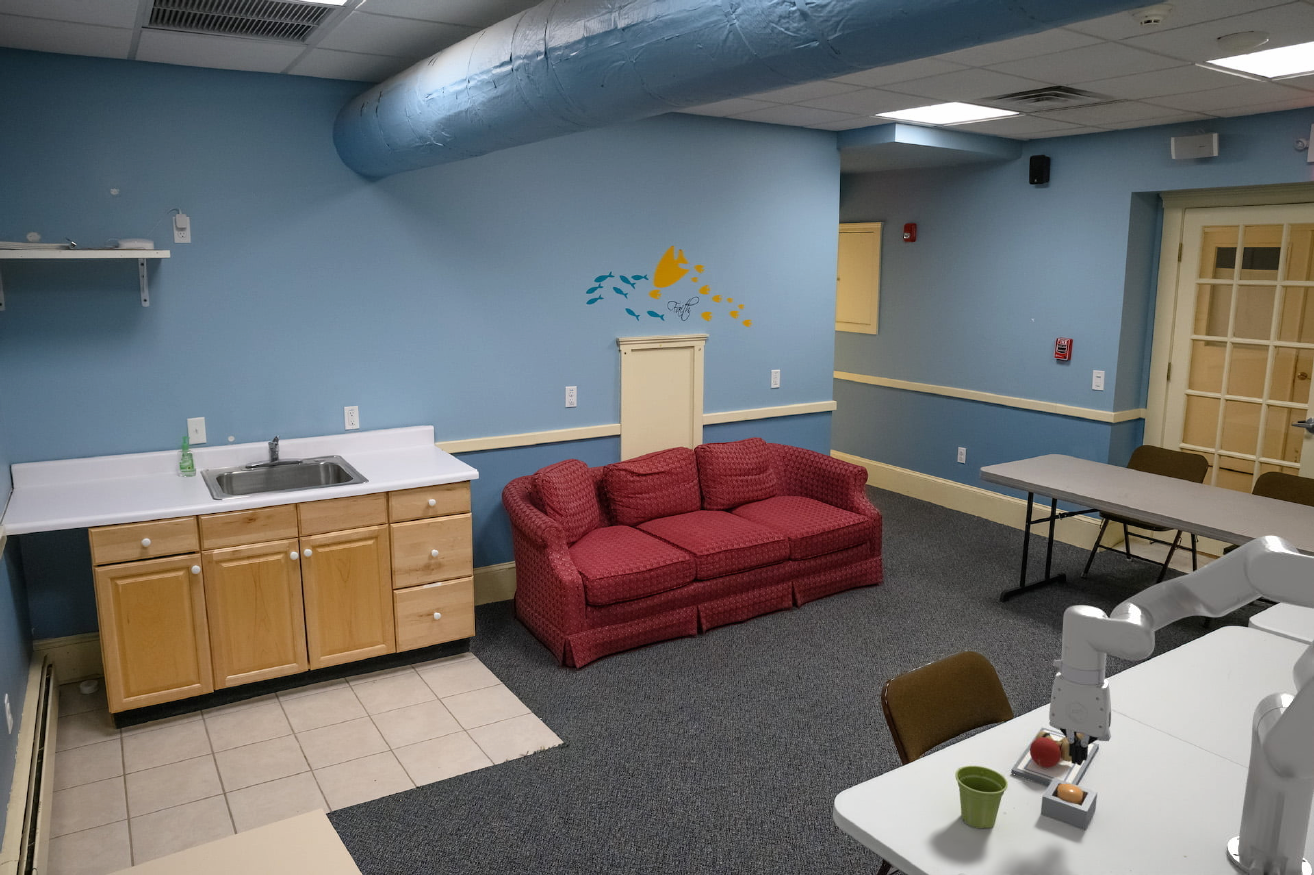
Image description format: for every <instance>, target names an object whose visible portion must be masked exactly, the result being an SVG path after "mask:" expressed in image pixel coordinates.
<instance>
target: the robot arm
mask: <svg viewBox="0 0 1314 875" xmlns="http://www.w3.org/2000/svg"><path fill="white" fill-rule="evenodd" d="M1261 597H1263V598H1264V599H1268V600H1270V601H1273V602H1277V603H1281V604H1286V605H1290V606H1296V607H1303V608H1310V609H1314V556H1310V555H1305V554H1302V553H1300V552H1299V550H1298V549H1297V548H1296V547H1295V546H1294V545H1293V543H1291V542H1289V541H1288V540H1287V539H1284V538H1283V537H1280V536H1276V535H1263V536H1260V537H1257V538H1254V539H1253V540H1250V541H1248V542H1246V543H1245V544H1242V545H1241V546H1239V547H1237V548H1235V549H1233V550H1232V551H1230V552H1227V553H1226V554H1224V555H1222V556H1221V557H1219V558H1217V559H1214V560H1213V561H1211V562H1210V563H1207V564H1206V565H1204V566H1202V567H1200V568H1198V569H1196V570H1194V571H1192V572H1190V573H1188V574H1185V575H1180V576H1178V577H1175V578H1172V579H1169V580H1165V581H1161V582H1160V583H1156V584H1154V585H1152V586H1150V587H1147V588H1145V589H1144V590H1142V591H1140V592H1138V593H1136V594H1135V595H1133V596H1131V597H1128V598H1127V599H1126V600H1124V601H1122V602H1121V603H1119V604H1118V605H1116V606H1115V608H1113V610H1112V612H1111V613H1110V616H1109V617H1108V616H1107V613H1106V612H1105V611H1103V610H1102V609H1100V608H1099V607H1094V606H1091V605H1087V604H1086V605H1084V604H1081V605H1080V604H1079V605H1077V604H1076V605H1071V606H1069V607H1067V608H1066V610H1065V611H1064V613H1063V618H1062V620H1063V621H1062V637H1061V638H1062V639H1061V641H1062V642H1061V643H1062V644H1061V658H1060V659H1053V662H1052V667H1056V668H1057V669H1058V670H1059V671H1058V672H1057V673H1056V674H1055V676H1054V677H1055V678H1054V681H1053V685H1052V691H1051V696H1050V704H1049V713H1048V715H1049V716H1048V719H1049V724H1048V725H1049V726H1050V727H1052V728H1054V729H1056V730H1058V731H1060V733H1063V734H1064V735H1065V737H1066V738H1067V741H1068V742H1069V756H1071V757H1072V761H1071V763H1073V764H1077V765H1080V766H1081V764H1082V762H1083V761H1084V760H1085V761H1086V760H1087V757H1088V745H1089V744H1091V743H1095V742H1096V741H1099V742H1109V741H1110V740H1111V738H1112V735H1111V729H1110V727H1111V724H1112V702H1111V691H1110V686H1109V682H1108V680H1107V679H1106V664H1107V655H1111V656H1113V657H1116V658H1120V659H1123V660H1128V661H1142V660H1144V659H1147V658H1148V657H1150V656H1151V655H1152V654H1153V652H1154V649H1155V645H1156V637H1155V633H1156V632H1157V631H1158V630H1159V629H1162V628H1164V627H1165V626H1168V625H1170V624H1172V623H1173V622H1176V621H1179V620H1182V619H1183V618H1187V617H1192V616H1193V617H1194V616H1202V617H1204V616H1205V617H1209V618H1220V617H1224V616H1227V615H1228V614H1230V613H1232V612H1234V611H1236V610H1238V609H1240V608H1242V607H1243V606H1246V605H1247V604H1250V603H1251V602H1254V601H1255V600H1257V599H1260V598H1261ZM1292 679H1293V683H1294V686H1295V688H1296V692H1297V693H1296V694H1293V693H1289V692H1275V693H1271V694H1269V695H1267V696H1265V697H1264V698H1262V699H1261V700H1260V701H1259V702H1258V704H1257V705H1256V706H1255V709H1254V712H1253V717H1252V728H1251V741H1250V744H1251V746H1250V755H1249V756H1250V757H1249V763H1248V769H1247V770H1248V772H1247V776H1246V783H1245V785H1246V786H1245V792H1244V798H1243V803H1242V804H1243V806H1242V813H1241V820H1240V826H1239V827H1240V828H1239V834H1238V836H1235V837H1233V838H1232V839H1230V840H1229V841H1228V842H1227V846H1226V854H1227V856H1228V858H1229V859H1230V861H1231V862H1232V863H1234V865H1235V866H1236V867H1238V868H1239V869H1241V870H1242V871H1243V872H1245V873H1246V874H1248V875H1313V868H1312V866H1311V864H1310V863H1309V862H1308V860H1307V859H1305V858H1304V856H1305V849H1306V842H1307V837H1308V836H1307V835H1308V829H1309V822H1310V817H1311V816H1310V815H1311V809H1312V805H1313V803H1312V802H1313V799H1314V798H1313V796H1314V639H1313V640H1312V641H1311V643H1310V644H1309V645H1308V647H1307V648H1306V649H1305V650H1304V652H1302V654H1301V656H1300V657H1298V659H1297V660H1296V662H1295V663H1294V665H1293V668H1292ZM1077 733H1081V734H1083V735H1082V739H1081V740H1079V739H1080V738H1079V737H1078V734H1077Z"/></svg>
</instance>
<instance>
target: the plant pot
mask: <svg viewBox="0 0 1314 875" xmlns="http://www.w3.org/2000/svg"><path fill="white" fill-rule="evenodd" d="M955 780H956V781H957V782H956V783H957V786H958V787H959V788H958V789H959V790H958V791H959V801H960V813H961V814H960V816H961V818H962V819H963V821H964V823H965V824H967V825H969V826H970V825H971V826H970V827H973V828H976V829H983V828H985V829H991V828H992V827H994V826H995V824H996V821H997V817H998V812H999V809H1000V805H1001V801H1002V798H1003V795H1004V794H1005V791H1007V789H1008V786H1009V783H1008V780H1007V778H1006V777H1004V775H1002V774H1001V773H999V771H998V772H997V771H996V770H995V769H992V768H989V767H985V766H981V765H980V766H979V765H965V766H962V767H960V768H958V769H957V770H956V771H955Z"/></svg>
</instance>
